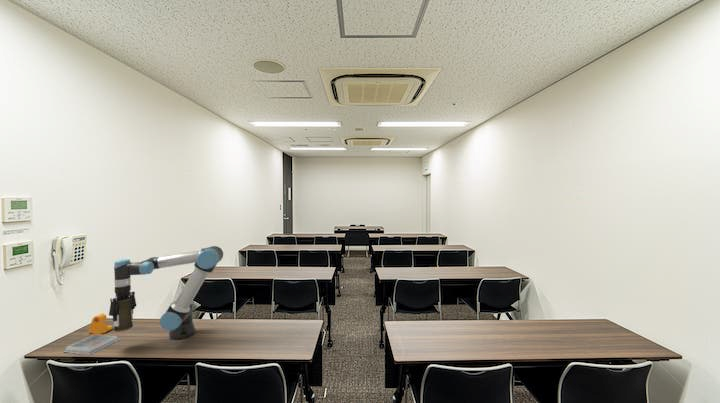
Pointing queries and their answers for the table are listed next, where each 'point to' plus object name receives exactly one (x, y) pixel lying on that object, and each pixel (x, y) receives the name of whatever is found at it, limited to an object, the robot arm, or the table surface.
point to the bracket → (99, 325)
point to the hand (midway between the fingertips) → (123, 322)
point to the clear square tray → (91, 344)
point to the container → (124, 315)
